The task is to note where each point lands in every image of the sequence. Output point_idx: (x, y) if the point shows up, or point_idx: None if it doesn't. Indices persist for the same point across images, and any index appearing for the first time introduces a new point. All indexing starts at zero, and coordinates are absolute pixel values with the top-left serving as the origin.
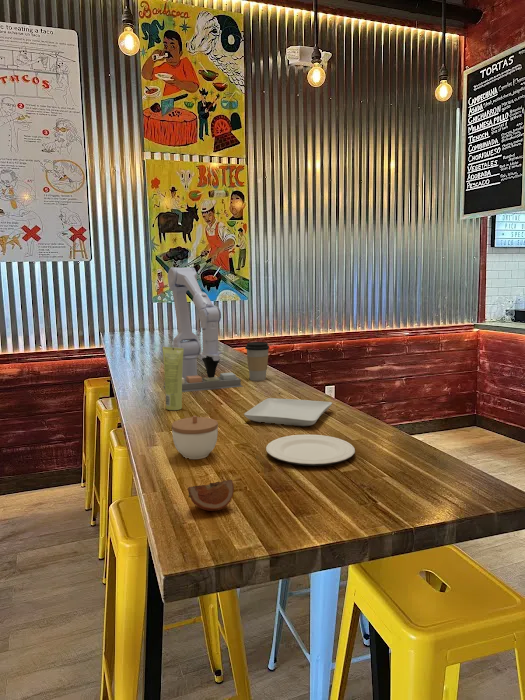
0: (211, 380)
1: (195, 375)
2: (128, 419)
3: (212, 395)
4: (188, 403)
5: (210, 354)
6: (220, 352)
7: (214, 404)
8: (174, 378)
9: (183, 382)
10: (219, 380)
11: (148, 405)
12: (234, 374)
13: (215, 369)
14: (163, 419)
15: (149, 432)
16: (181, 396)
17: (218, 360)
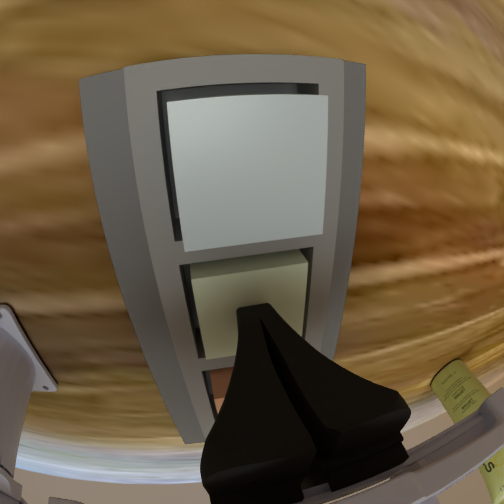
0: (301, 312)
1: (218, 410)
2: (437, 415)
3: (401, 280)
4: (433, 352)
5: (447, 488)
6: (420, 496)
7: (487, 283)
8: None
9: None
10: (281, 247)
11: None
12: (311, 104)
13: (309, 346)
14: (478, 371)
15: (499, 371)
16: (478, 380)
17: (498, 391)
